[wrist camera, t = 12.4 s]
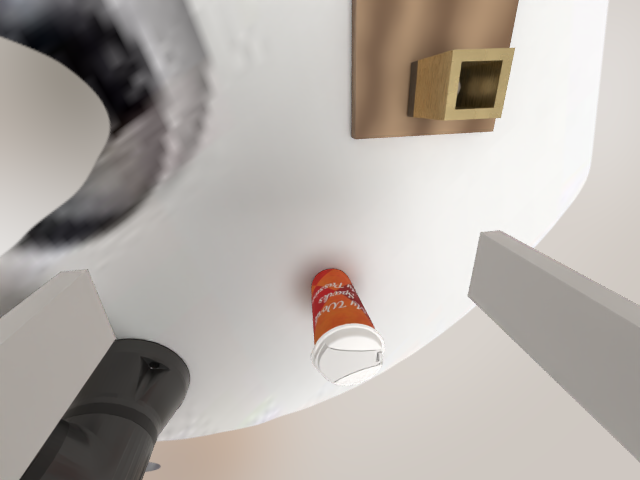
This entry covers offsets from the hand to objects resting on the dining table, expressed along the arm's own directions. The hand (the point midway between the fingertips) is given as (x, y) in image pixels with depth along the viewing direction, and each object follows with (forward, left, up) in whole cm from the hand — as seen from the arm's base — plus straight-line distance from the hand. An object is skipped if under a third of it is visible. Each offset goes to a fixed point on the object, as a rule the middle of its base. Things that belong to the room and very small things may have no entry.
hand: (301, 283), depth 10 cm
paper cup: (+5, -18, -27) cm, 33 cm away
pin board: (+16, +11, -27) cm, 33 cm away
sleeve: (+16, +6, -24) cm, 30 cm away
